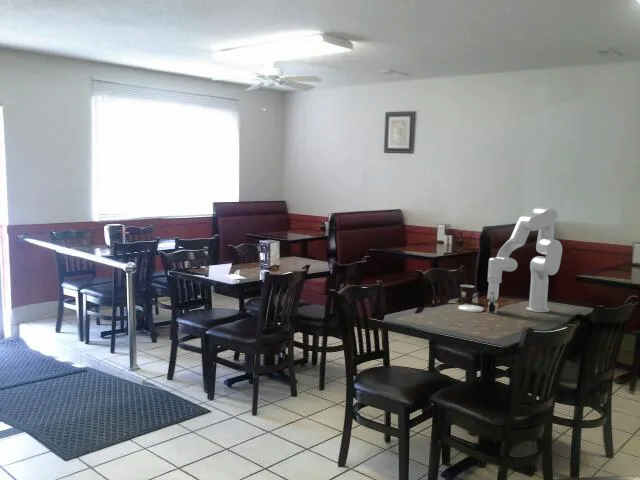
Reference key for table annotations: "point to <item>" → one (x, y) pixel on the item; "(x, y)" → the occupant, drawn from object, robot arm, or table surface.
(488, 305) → the maple block
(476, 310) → the ceramic dish
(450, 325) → the table surface
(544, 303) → the robot arm
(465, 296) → the coffee mug
